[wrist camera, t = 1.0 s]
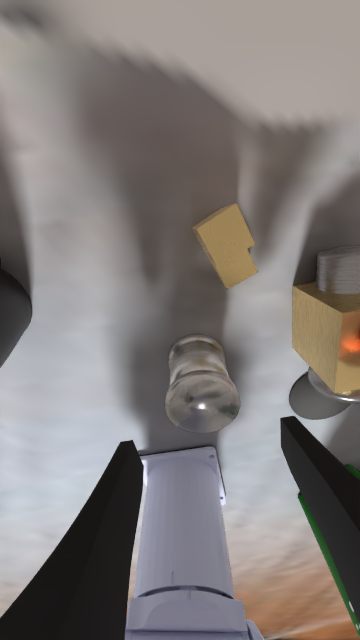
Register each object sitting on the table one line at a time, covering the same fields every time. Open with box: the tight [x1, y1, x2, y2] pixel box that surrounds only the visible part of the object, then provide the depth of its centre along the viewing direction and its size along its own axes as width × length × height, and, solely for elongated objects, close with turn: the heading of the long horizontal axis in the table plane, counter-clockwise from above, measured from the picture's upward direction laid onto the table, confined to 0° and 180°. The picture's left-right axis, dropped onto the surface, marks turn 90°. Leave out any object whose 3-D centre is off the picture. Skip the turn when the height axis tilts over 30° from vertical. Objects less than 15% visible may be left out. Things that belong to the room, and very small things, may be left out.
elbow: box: [192, 203, 258, 289], centre depth 12 cm, size 4×2×4 cm, turn 32°
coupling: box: [165, 334, 240, 433], centre depth 15 cm, size 4×4×5 cm
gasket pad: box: [289, 374, 351, 420], centre depth 19 cm, size 6×6×1 cm
